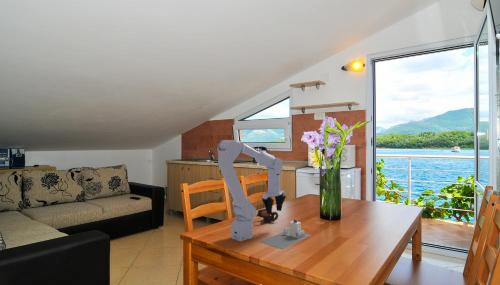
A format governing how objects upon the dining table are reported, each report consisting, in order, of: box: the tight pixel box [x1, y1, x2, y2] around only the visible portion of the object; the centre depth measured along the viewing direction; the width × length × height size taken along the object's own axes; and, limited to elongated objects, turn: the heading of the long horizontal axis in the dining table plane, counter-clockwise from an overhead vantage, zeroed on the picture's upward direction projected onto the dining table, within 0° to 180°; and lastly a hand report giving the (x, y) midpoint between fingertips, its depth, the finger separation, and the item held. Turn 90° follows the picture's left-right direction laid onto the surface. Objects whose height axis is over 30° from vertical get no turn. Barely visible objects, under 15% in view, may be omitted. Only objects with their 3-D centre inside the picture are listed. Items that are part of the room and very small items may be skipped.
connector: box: [289, 219, 302, 236], centre depth 131 cm, size 3×4×6 cm
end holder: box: [283, 226, 306, 239], centre depth 132 cm, size 6×8×2 cm
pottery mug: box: [255, 208, 279, 226], centre depth 155 cm, size 12×10×8 cm
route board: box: [259, 231, 312, 250], centre depth 127 cm, size 22×12×1 cm, turn 138°
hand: (274, 212), depth 139 cm, fingers open, 7 cm apart
